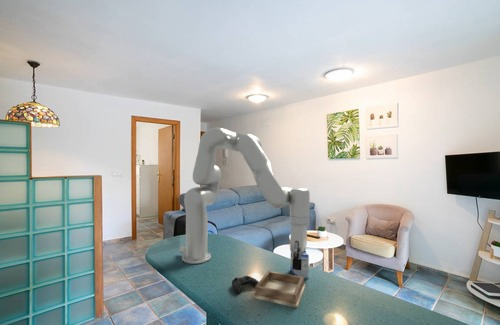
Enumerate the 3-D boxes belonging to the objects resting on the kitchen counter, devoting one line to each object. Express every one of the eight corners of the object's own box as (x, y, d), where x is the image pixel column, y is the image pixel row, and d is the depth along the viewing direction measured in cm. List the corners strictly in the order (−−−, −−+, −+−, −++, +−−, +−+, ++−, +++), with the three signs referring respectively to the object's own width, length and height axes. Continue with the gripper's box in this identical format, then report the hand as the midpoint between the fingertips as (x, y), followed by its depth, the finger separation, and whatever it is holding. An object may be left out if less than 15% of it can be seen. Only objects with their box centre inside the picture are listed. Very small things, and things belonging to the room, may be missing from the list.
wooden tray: (253, 297, 76) (253, 287, 76) (267, 278, 89) (267, 269, 89) (297, 308, 71) (297, 296, 71) (305, 286, 84) (305, 276, 84)
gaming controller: (236, 294, 77) (231, 275, 81) (231, 300, 80) (226, 282, 84) (262, 286, 82) (255, 269, 86) (256, 293, 85) (250, 276, 89)
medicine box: (290, 269, 97) (290, 248, 97) (300, 269, 98) (300, 247, 98) (297, 278, 90) (297, 255, 90) (308, 278, 90) (309, 254, 90)
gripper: (294, 215, 104) (294, 255, 103) (284, 224, 88) (284, 272, 87) (312, 216, 101) (312, 258, 100) (305, 226, 85) (305, 275, 84)
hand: (299, 264), depth 94 cm, fingers closed on medicine box, 9 cm apart
